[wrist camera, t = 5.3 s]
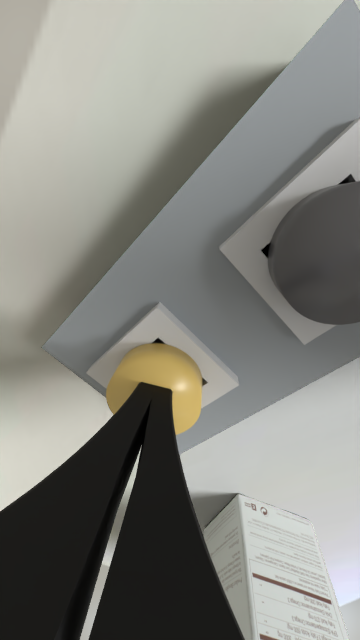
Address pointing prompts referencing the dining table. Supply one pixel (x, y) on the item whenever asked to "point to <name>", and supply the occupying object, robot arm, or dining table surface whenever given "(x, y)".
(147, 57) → the dining table surface
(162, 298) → the mount plate
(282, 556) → the supplement box
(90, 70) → the dining table surface
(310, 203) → the knob
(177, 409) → the knob
